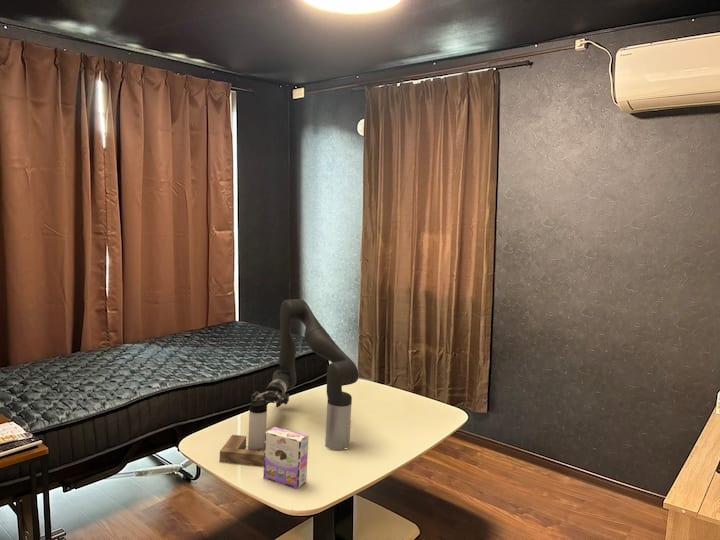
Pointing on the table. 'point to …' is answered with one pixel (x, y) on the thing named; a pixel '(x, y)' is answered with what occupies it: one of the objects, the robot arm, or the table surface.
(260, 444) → the travel mug
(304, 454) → the candy box
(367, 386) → the table surface
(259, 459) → the wooden u-shaped block
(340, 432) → the robot arm
